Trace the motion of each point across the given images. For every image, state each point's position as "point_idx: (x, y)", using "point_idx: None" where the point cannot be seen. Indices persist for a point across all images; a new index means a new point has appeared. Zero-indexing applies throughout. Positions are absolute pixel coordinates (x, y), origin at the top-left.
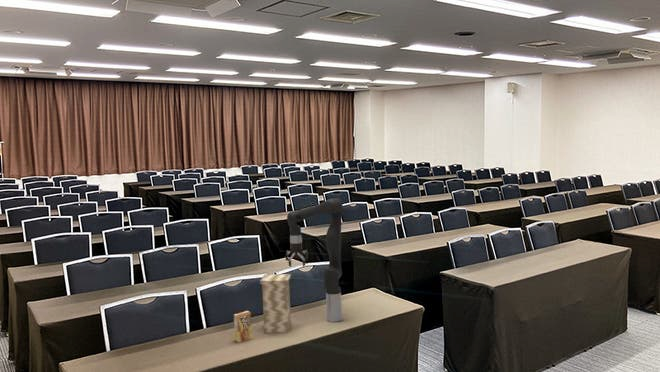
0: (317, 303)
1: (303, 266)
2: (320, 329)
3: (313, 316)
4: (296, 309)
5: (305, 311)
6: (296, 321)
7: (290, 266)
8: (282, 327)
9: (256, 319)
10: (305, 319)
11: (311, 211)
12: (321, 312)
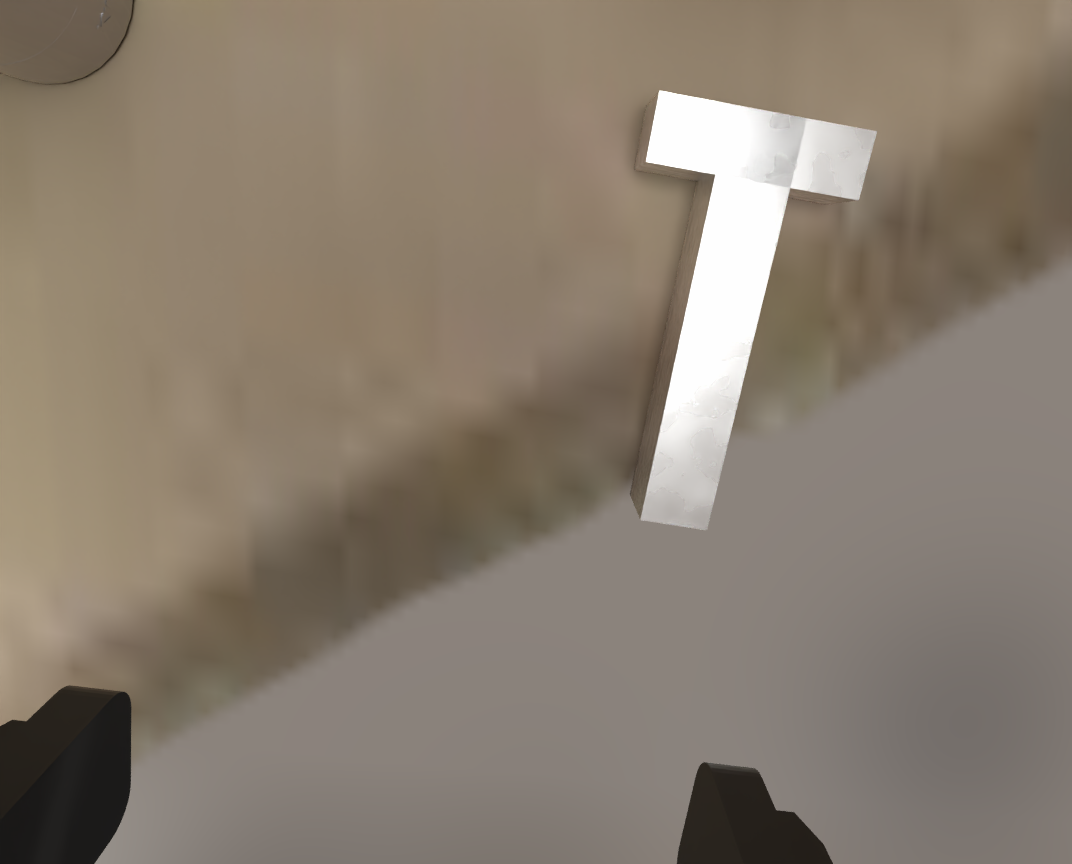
0: (282, 629)
1: (99, 691)
2: None
3: (318, 168)
4: (528, 469)
5: (421, 377)
6: (535, 12)
7: (725, 768)
8: None
9: (1025, 197)
10: (419, 70)
11: None
12: (222, 302)
